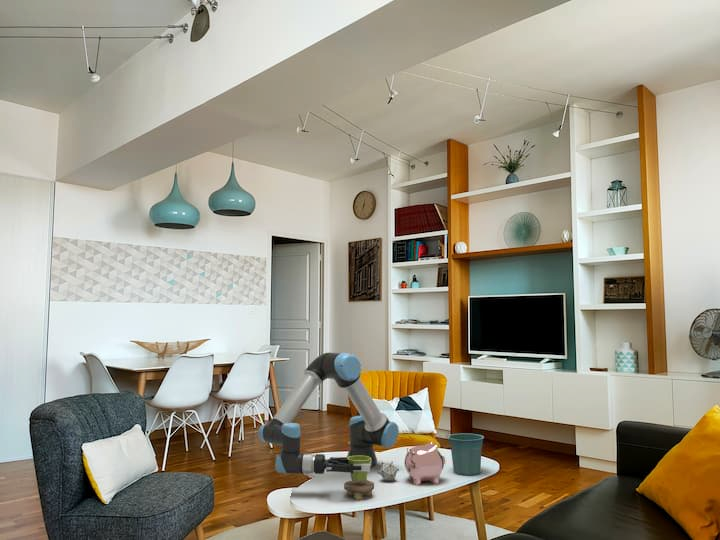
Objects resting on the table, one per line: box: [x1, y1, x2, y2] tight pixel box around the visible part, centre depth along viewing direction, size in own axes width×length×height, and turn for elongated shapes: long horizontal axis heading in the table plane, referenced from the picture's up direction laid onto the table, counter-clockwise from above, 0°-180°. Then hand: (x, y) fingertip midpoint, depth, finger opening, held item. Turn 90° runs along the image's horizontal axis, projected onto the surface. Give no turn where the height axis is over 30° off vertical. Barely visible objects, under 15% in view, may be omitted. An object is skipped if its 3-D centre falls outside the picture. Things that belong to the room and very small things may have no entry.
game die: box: [377, 461, 400, 483], centre depth 240 cm, size 9×8×10 cm
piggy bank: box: [404, 440, 446, 486], centre depth 240 cm, size 15×18×16 cm
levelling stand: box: [343, 479, 375, 501], centre depth 219 cm, size 12×12×4 cm
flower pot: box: [447, 432, 485, 476], centre depth 254 cm, size 16×16×16 cm
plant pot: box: [347, 455, 371, 482], centre depth 220 cm, size 9×9×9 cm
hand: (370, 464), depth 219 cm, fingers closed on plant pot, 8 cm apart
